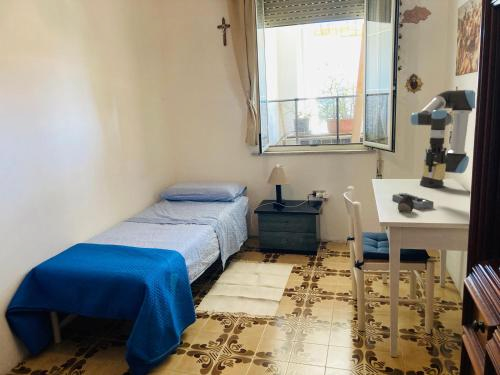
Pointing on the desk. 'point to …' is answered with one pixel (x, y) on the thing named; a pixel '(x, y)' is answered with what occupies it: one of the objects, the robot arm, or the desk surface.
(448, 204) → the desk surface
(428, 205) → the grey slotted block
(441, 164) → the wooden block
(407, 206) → the stone
